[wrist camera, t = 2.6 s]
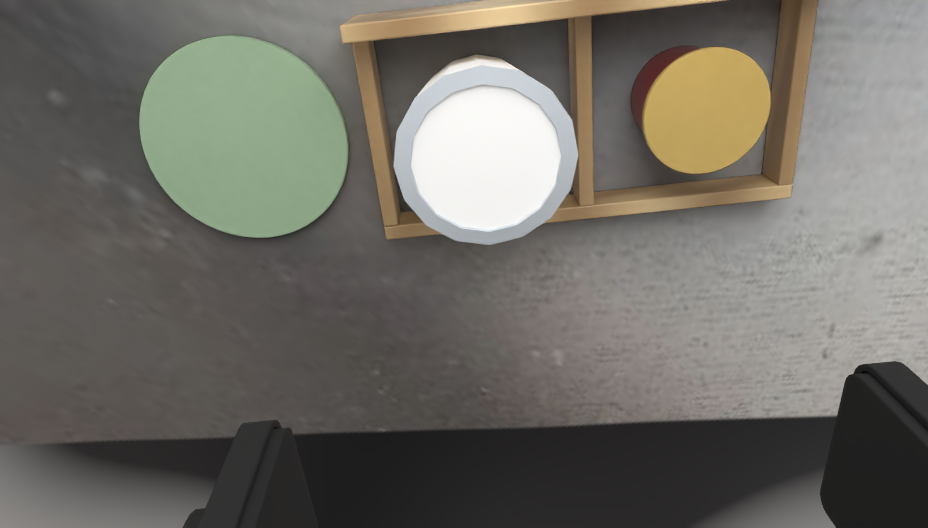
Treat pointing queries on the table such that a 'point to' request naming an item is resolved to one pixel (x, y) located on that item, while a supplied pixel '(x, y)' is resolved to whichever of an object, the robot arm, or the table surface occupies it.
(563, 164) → the shot glass
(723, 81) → the coffee pod
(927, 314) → the table surface
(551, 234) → the table surface
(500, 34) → the table surface
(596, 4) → the pod caddy
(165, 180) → the coaster
